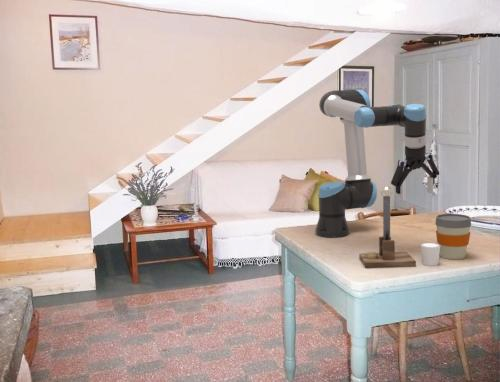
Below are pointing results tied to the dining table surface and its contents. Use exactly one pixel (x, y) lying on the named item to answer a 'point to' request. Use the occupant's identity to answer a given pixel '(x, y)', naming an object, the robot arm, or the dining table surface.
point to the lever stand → (386, 256)
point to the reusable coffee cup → (453, 235)
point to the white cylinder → (430, 254)
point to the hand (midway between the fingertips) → (415, 196)
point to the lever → (386, 212)
